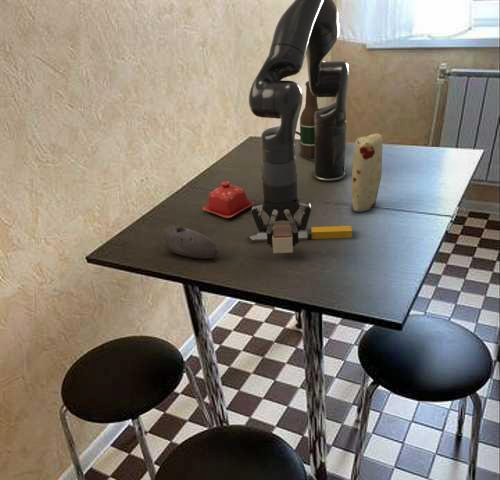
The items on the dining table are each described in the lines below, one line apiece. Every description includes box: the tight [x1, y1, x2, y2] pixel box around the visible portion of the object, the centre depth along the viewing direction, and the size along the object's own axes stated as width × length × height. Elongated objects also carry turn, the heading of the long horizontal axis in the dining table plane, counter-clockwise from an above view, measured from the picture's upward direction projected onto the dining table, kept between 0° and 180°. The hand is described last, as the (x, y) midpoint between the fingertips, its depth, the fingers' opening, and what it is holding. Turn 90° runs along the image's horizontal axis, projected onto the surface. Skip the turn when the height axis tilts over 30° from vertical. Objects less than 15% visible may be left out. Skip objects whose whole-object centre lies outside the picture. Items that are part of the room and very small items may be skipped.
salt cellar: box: [272, 224, 294, 254], centre depth 116 cm, size 5×6×4 cm
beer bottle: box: [299, 80, 320, 159], centre depth 163 cm, size 8×8×24 cm
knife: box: [249, 225, 353, 243], centre depth 124 cm, size 26×3×2 cm, turn 86°
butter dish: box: [202, 180, 255, 219], centre depth 138 cm, size 12×12×8 cm
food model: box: [351, 133, 383, 212], centre depth 129 cm, size 10×7×20 cm
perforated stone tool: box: [161, 224, 219, 260], centre depth 120 cm, size 15×5×7 cm, turn 60°
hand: (283, 244), depth 117 cm, fingers closed on salt cellar, 4 cm apart
